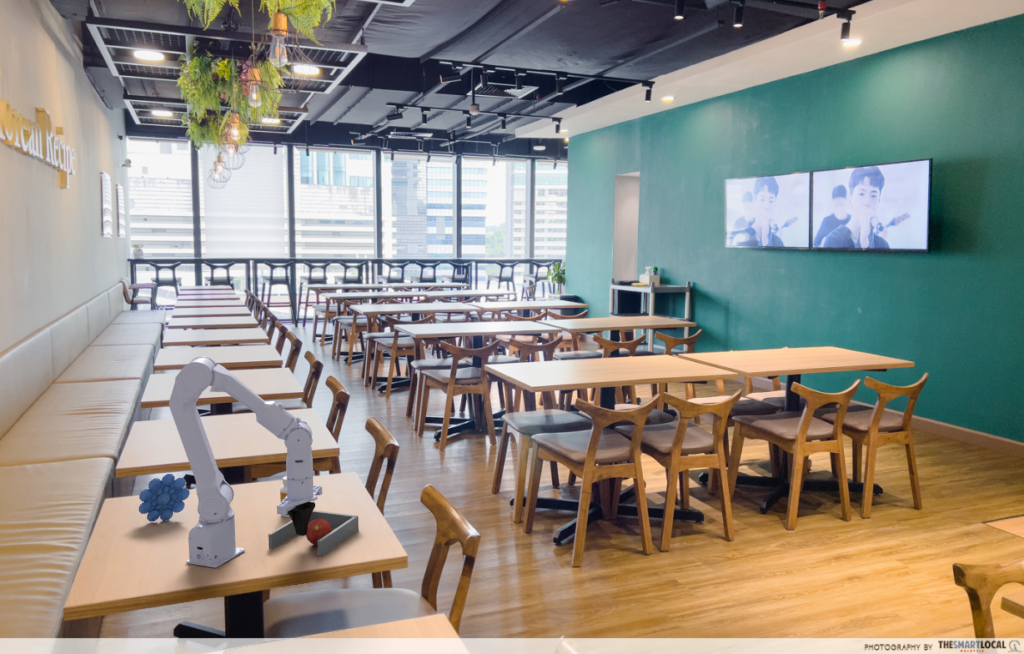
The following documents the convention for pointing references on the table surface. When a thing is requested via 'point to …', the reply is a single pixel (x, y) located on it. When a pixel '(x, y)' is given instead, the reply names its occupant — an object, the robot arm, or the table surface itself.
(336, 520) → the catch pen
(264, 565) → the table surface
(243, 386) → the robot arm
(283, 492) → the supplement bottle
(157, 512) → the blue flower
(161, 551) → the table surface
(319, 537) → the onion
